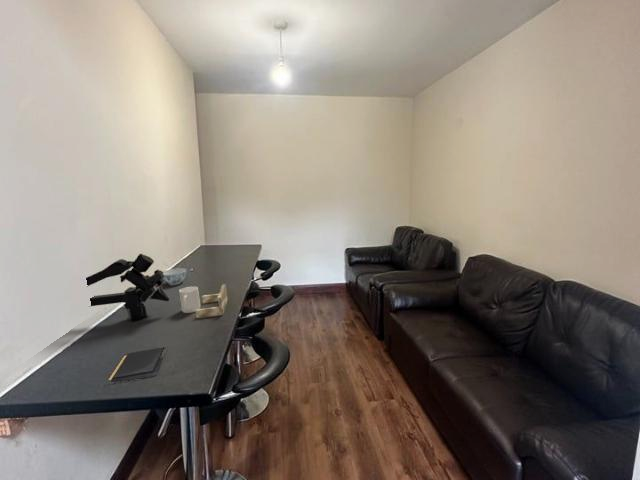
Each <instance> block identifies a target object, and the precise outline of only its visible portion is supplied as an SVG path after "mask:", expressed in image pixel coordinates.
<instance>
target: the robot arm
mask: <svg viewBox="0 0 640 480" xmlns="http://www.w3.org/2000/svg"><path fill="white" fill-rule="evenodd" d="M154 262H155V261H154V259H152V257H150V256H149V255H148V256H147V255H145V254H143V253H139V254H138V255H137V257H136V258H135V259H134V261H131V260H130V261H129V260H128V261H127V260H126V259H121V258H120V259H118V260H116V261H114V262H112V263H111V264H110V265H108V266H107V267H106V268H103V270H100V271H97V272H96V273H93V274H92V275H89V276H86V277H85V278H86V280H87V285H88V286H87V287H90V286H91V285H94V284H96V283H98V282H100V281H103V280H105V279H107V278H110V277H111V278H112V277H116V276H120V277H119V278H120V283H124V282H125V281H128V282H129V283H131V284H132V285H134V286H135V287H134V286H133V287H132V286H130V287H128V288H127V289H126V290H124V292H117V293H108V294H101V295H99V294H98V295H93V296H94V297H92V298H90V301H91V306H90V307H95V306H104V305H112V304H121V303H123V305H124V308H125V309H126V311H127V316H128V317H127V318H126V319H127V320H128V321H130V322H131V323H132V322H136V321H140V320H143V319H146V318H148V315H147V313H148V312H147V308H146V306H145V304H144V303H145V302H146V301H147V300H148V299H149V300H158V301H163V302H169V301H170V298H169V297H168V296H167V294H166V293H165V291H164V290H163V283H164V282H165V281H164V280H163V279H162V278H163V277H164V274H163V270H161V269H156V270H154V272H153V274H152V275H147V274H146V275H145V274H143V273H146V272H147V271H148V270H149V269H150V268H151V266H152V265H153V264H154ZM130 269H131V270H130ZM122 274H123V275H122Z"/></svg>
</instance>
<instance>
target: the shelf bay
mask: <svg viewBox="0 0 640 480" xmlns="http://www.w3.org/2000/svg"><path fill="white" fill-rule="evenodd" d="M227 293H228V291H227V285H226V283H225V284H224V283H223V284H221V287H220V291H219V293H214V294H205V295H202V303H203V304H209V302H210V303H215V302H217V301H218V302H217V303H218V306H213V307H204V308H200V309H197V310H196V311H195V317H196V319H201V318H202V319H203V318H209V317H216V316H224V315H225V309H226V307H227V306H226V305H227V302H228V294H227Z"/></svg>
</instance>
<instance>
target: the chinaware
mask: <svg viewBox="0 0 640 480" xmlns="http://www.w3.org/2000/svg"><path fill="white" fill-rule="evenodd" d="M162 271H163V270H162ZM163 274H164V277H163V278H162V279H163V280H164V282H165V283H167V284H168V285H169V286H177V285H180V284H181V283H182V281H183V280H184V279H185V277H186V274H187V269H186V268H184V267H183V268H182V267H180V268H178V267H177V268H170V269H167V270H164V271H163Z"/></svg>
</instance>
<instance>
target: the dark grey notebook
mask: <svg viewBox="0 0 640 480" xmlns="http://www.w3.org/2000/svg"><path fill="white" fill-rule="evenodd" d="M166 348H167V347H165V346H163V347H157V348H151V349H144V350H140V351H134V352H133V351H132V352H128V353H125V354H123V356H122V357H121V359H122V360H121V359H120V360H121V361H119V362H120V363H119V362H118V363H119V364H118V363H117V365H118V366H117V365H116V366H117V367H116V366H115V368H116V369H115V368H114V369H115V370H113V371H114V372H113V371H112V372H113V373H112V372H111V374H112V375H111V374H110V375H111V376H109V377H110V378H109V377H108V378H109V379H108V378H107V380H111V382H119V381H120V382H122V381H130V380H135V379H141V380H145V379H151V378H154V377H156V376H157V375H158V373H159V371H160V369H161V366H162V364H161V363H163V361H164V359H163V357H161V355H162V352H163V350H164V349H166ZM160 357H161V358H160ZM162 360H163V361H162ZM135 381H136V380H135ZM130 382H131V381H130Z"/></svg>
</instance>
